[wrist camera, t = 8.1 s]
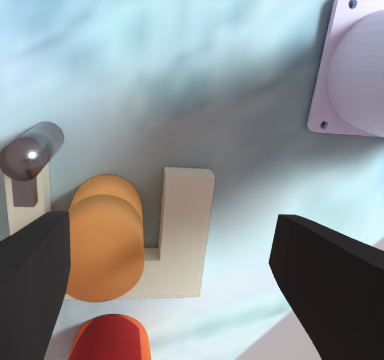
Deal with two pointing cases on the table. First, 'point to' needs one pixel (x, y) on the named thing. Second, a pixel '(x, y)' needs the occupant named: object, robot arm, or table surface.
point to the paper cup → (111, 339)
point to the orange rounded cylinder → (105, 239)
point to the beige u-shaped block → (169, 231)
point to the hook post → (29, 160)
